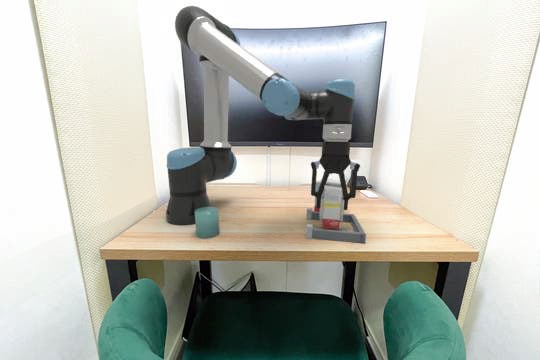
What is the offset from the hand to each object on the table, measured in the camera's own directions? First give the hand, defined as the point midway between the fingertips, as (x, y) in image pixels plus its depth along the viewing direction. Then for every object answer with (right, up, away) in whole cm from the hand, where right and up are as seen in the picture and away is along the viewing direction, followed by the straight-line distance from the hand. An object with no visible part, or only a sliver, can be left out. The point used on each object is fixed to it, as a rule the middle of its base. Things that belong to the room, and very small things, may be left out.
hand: (330, 218), depth 64 cm
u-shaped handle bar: (+1, -3, 0) cm, 3 cm away
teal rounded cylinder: (-36, -4, -3) cm, 36 cm away
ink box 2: (0, -1, 0) cm, 1 cm away
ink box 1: (+4, 0, +16) cm, 16 cm away
